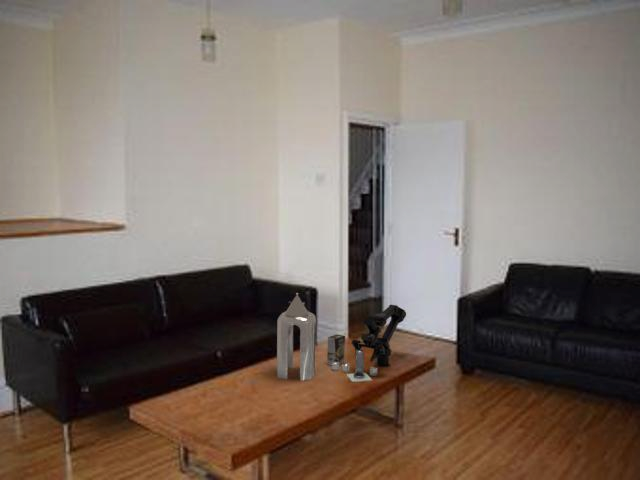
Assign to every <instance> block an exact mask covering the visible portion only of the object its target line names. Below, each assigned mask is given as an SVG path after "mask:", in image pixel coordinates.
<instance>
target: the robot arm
mask: <svg viewBox="0 0 640 480" xmlns="http://www.w3.org/2000/svg"><path fill="white" fill-rule="evenodd" d="M406 316H407V312H406V310H405V309H403V308H401V307H400V306H398V305H397V304H389V306H388V307H387V308H385V309H384V310H383V311H382V312H381V313H376V314H373V315H369V316H367V317H366V318H365V319H363V325H364V326H365V328H366V329H367V331H368V332H367V333H366V334H365V333H361V335H360V340H359V339H353V340H351V345H352V346H353V347H354V349H355V350H354V351H355V352H354V353H355V354H354V359H355V360H356V350H358V349H360V350H362V348H366V349H371V350H373V353H372V355H371V357H370V363H372V362H373V361H374V360H375V364H376V365H377V366H378V367H388V366H391V365H390V364H389V363H390V361H389V359H390V356H392V348H391V345H390V342H391V339H392V337H393V335H394V333H395V331H396V329H397V328H398V326H399V324H401V323H402V322H404V320H405V319H406ZM388 319H390V321H389V323H388V325H387V327H386V328H385V331H384V332H383V334H382V330H381V327H382V328H383V327H384V326H386V324H387V320H388ZM380 333H381V334H382V336H381V337H379V335H380ZM361 341H362V342H361Z"/></svg>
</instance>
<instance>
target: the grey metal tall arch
mask: <svg viewBox="0 0 640 480" xmlns="http://www.w3.org/2000/svg"><path fill="white" fill-rule="evenodd" d="M305 303H306V302H304V301H302V300H301V298H300V296H299V293H298V292H296V293H295V297H294V298H293V300H292V301H291V302H290V303H289V304H290V305H289V307H287V310H286V311H284V312H282V313H281V314H280V315H279V316H278V318H277V323H276V324H277V325H276V326H277V331H276V337H277V339H276V341H277V343H276V351H277V352H276V376H277V378H278V379H281V380H285V381H286V380H288V377H289V376H288V373H289V372H288V369H293V368H294V326H297V327H298V328H299V330H300V332H299V333H300V334H299V335H300V336H299V343H300V344H299V348H300V349H299V381H308V380H309V381H310V380H312V379H314V374H315V372H316V343H317V342H316V338H317V337H316V332H317V331H316V330H317V329H316V328H317V324H316V323H317V317H316V315H315V314H314V313H313V312H310V311H309V310H307V308H306V306H305Z"/></svg>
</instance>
